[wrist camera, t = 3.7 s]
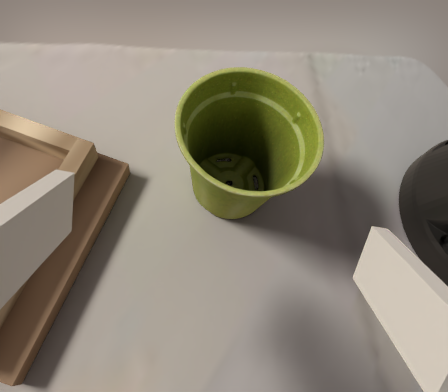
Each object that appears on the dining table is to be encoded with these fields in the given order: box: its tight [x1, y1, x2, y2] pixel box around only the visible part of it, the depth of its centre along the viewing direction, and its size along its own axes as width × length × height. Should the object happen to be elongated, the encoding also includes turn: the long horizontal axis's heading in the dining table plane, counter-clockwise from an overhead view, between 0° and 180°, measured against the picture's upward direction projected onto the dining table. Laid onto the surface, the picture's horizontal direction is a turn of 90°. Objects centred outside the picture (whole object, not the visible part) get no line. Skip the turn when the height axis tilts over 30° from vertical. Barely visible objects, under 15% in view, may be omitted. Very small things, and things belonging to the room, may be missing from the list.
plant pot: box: [175, 67, 324, 219], centre depth 26 cm, size 9×9×9 cm
